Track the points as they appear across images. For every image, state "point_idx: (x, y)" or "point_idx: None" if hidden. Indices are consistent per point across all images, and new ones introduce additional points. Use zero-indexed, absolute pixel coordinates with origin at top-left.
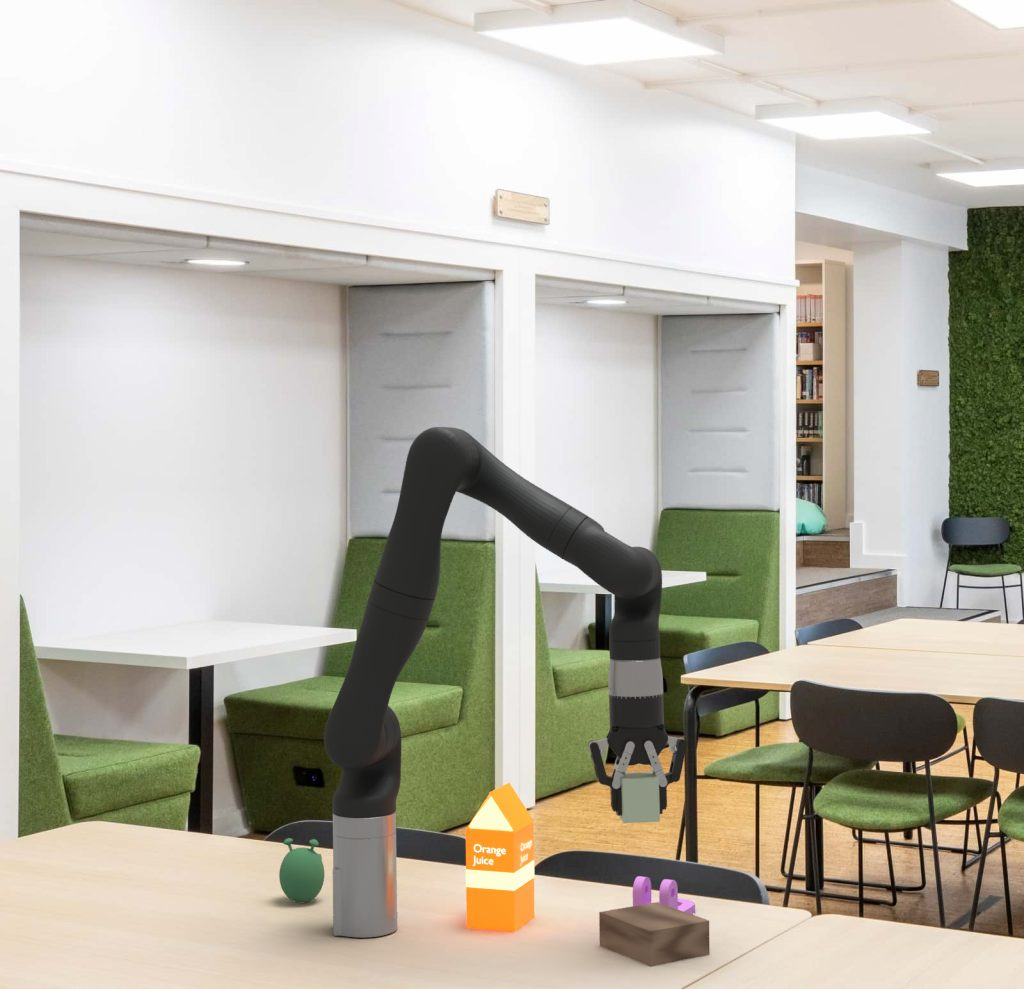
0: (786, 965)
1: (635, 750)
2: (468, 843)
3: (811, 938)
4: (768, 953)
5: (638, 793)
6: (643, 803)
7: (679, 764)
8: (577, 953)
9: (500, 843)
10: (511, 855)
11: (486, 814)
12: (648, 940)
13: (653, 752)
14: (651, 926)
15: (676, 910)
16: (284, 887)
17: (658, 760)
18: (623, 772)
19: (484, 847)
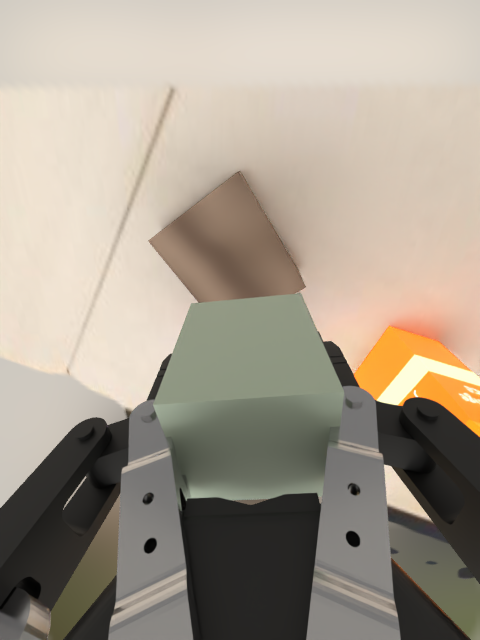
0: (56, 175)
1: (280, 622)
2: None
3: (50, 296)
4: (89, 234)
5: (256, 349)
6: (237, 329)
7: (27, 496)
8: (331, 237)
9: (477, 408)
10: (448, 390)
11: None
12: (241, 176)
13: (136, 590)
14: (235, 205)
15: (197, 294)
16: None
17: (124, 516)
18: (339, 444)
19: None
